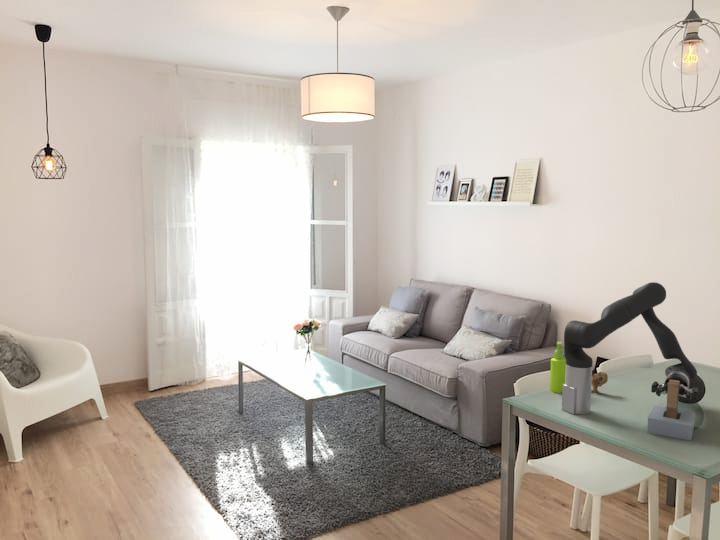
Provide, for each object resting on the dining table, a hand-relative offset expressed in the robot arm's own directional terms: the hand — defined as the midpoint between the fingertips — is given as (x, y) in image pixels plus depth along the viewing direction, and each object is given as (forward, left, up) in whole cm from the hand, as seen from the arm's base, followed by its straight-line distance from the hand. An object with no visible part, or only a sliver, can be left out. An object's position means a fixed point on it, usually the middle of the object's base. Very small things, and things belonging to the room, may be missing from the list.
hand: (672, 395), depth 203 cm
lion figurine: (+7, +44, -12) cm, 46 cm away
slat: (+1, 0, -11) cm, 12 cm away
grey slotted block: (+1, 0, -12) cm, 12 cm away
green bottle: (-5, +49, -12) cm, 51 cm away
